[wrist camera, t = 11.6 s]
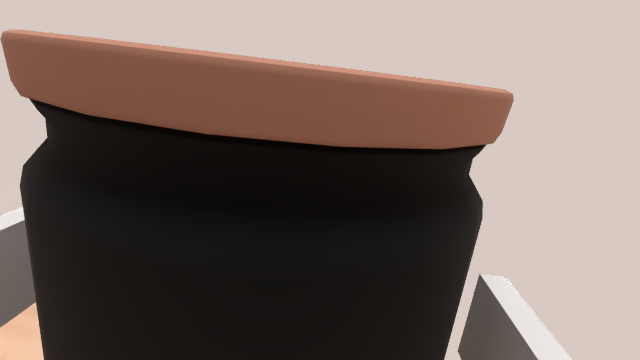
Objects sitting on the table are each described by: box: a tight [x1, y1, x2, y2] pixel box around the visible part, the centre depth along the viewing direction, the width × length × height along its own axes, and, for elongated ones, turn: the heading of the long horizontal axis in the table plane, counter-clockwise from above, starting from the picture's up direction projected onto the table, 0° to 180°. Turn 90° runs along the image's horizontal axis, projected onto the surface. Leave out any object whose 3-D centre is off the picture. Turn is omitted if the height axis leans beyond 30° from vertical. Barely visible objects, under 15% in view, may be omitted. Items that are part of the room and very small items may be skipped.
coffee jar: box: [1, 30, 513, 360], centre depth 11 cm, size 11×11×18 cm
